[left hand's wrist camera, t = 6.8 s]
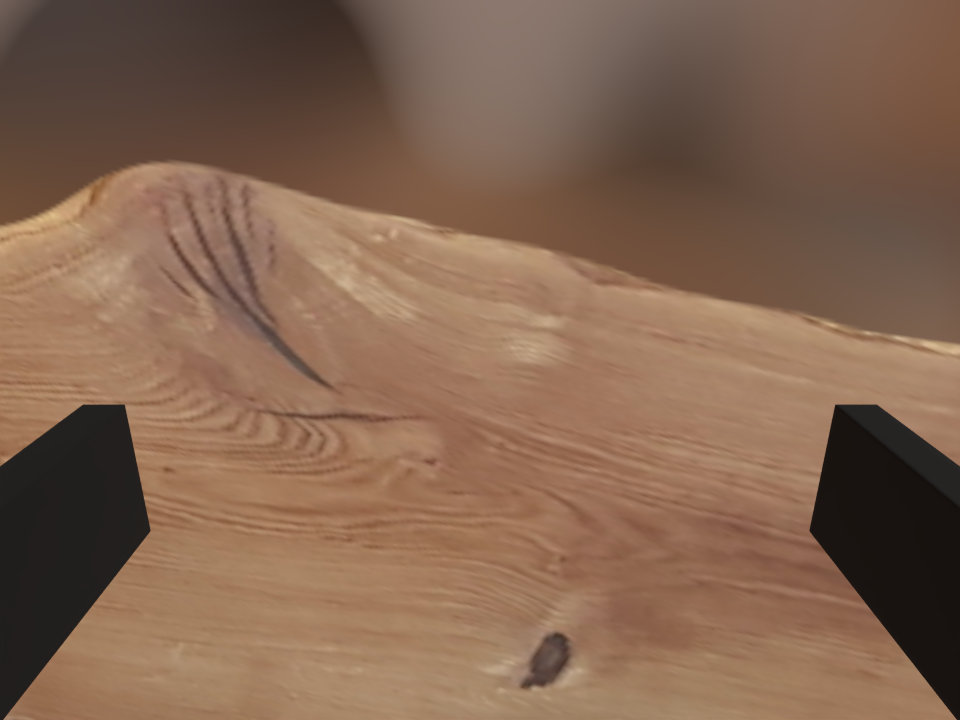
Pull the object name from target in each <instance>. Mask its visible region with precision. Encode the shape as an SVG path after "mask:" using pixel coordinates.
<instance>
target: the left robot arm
mask: <svg viewBox="0 0 960 720" xmlns="http://www.w3.org/2000/svg"><path fill="white" fill-rule="evenodd" d="M149 532H150V526H149V521H148V516H147V511H146V506H145V501H144V496H143V492H142V487H141V482H140V477H139V472H138V467H137V462H136V457H135V453H134V448H133V443H132V438H131V433H130V428H129V423H128V418H127V414H126V409H125V405H82V406H81V407H79V408H78V409H77V410H75V411H74V412H73V413H71V414H70V415H69V416H67V417H66V418H65V419H63V420H62V421H61V422H59V423H58V424H57V425H55V426H54V427H53V428H51V429H50V430H49V431H47V432H46V433H44V434H43V435H42V436H40V437H39V438H38V439H36V440H35V441H34V442H32V443H31V444H30V445H28V446H27V447H26V448H24V449H23V450H22V451H20V452H19V453H18V454H16V455H15V456H14V457H12V458H11V459H10V460H8V461H7V462H6V463H4V464H3V465H1V466H0V720H3V719H4V718H5V717H6V715H7V714H8V713H9V712H10V710H11V709H12V708H13V706H14V705H15V704H16V703H17V701H18V700H19V699H20V697H21V696H22V695H23V694H24V692H25V691H26V690H27V689H28V687H29V686H30V685H31V683H32V682H33V681H34V680H35V678H36V677H37V676H38V674H39V673H40V672H41V671H42V669H43V668H44V667H45V665H46V664H47V663H48V662H49V660H50V659H51V658H52V657H53V655H54V654H55V653H56V651H57V650H58V649H59V648H60V646H61V645H62V644H63V642H64V641H65V640H66V639H67V637H68V636H69V635H70V633H71V632H72V631H73V630H74V628H75V627H76V626H77V625H78V623H79V622H80V621H81V619H82V618H83V617H84V616H85V614H86V613H87V612H88V610H89V609H90V608H91V607H92V605H93V604H94V603H95V601H96V600H97V599H98V598H99V596H100V595H101V594H102V593H103V591H104V590H105V589H106V587H107V586H108V585H109V584H110V582H111V581H112V580H113V578H114V577H115V576H116V575H117V573H118V572H119V571H120V569H121V568H122V567H123V566H124V564H125V563H126V562H127V561H128V559H129V558H130V557H131V555H132V554H133V553H134V552H135V550H136V549H137V548H138V546H139V545H140V544H141V543H142V541H143V540H144V539H145V537H146V536H147V535H148V534H149ZM810 532H811V534H812V535H813V536H814V537H815V539H816V540H817V541H818V543H819V544H820V545H821V546H822V548H823V549H824V550H825V552H826V553H827V554H828V555H829V557H830V558H831V559H832V561H833V562H834V563H835V564H836V566H837V567H838V568H839V569H840V571H841V572H842V573H843V575H844V576H845V577H846V578H847V580H848V581H849V582H850V584H851V585H852V586H853V587H854V589H855V590H856V591H857V593H858V594H859V595H860V596H861V598H862V599H863V600H864V601H865V603H866V604H867V605H868V607H869V608H870V609H871V610H872V612H873V613H874V614H875V616H876V617H877V618H878V619H879V621H880V622H881V623H882V625H883V626H884V627H885V628H886V630H887V631H888V632H889V633H890V635H891V636H892V637H893V639H894V640H895V641H896V642H897V644H898V645H899V646H900V648H901V649H902V650H903V651H904V653H905V654H906V655H907V657H908V658H909V659H910V660H911V662H912V663H913V664H914V665H915V667H916V668H917V669H918V671H919V672H920V673H921V674H922V676H923V677H924V678H925V680H926V681H927V682H928V683H929V685H930V686H931V687H932V689H933V690H934V691H935V692H936V694H937V695H938V696H939V697H940V699H941V700H942V701H943V703H944V704H945V705H946V706H947V708H948V709H949V710H950V712H951V713H952V714H953V715H954V717H955V718H956V719H957V720H960V466H959V465H957V464H956V463H954V462H953V461H952V460H950V459H949V458H948V457H946V456H945V455H944V454H942V453H941V452H940V451H938V450H937V449H936V448H934V447H933V446H932V445H930V444H929V443H928V442H926V441H925V440H924V439H922V438H921V437H920V436H918V435H917V434H916V433H914V432H913V431H911V430H910V429H909V428H907V427H906V426H905V425H903V424H902V423H901V422H899V421H898V420H897V419H895V418H894V417H893V416H891V415H890V414H889V413H887V412H886V411H885V410H883V409H882V408H881V407H879V406H878V405H835V409H834V414H833V418H832V423H831V428H830V433H829V438H828V443H827V448H826V453H825V457H824V462H823V467H822V472H821V477H820V482H819V487H818V492H817V496H816V501H815V506H814V511H813V516H812V521H811V526H810Z"/></svg>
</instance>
